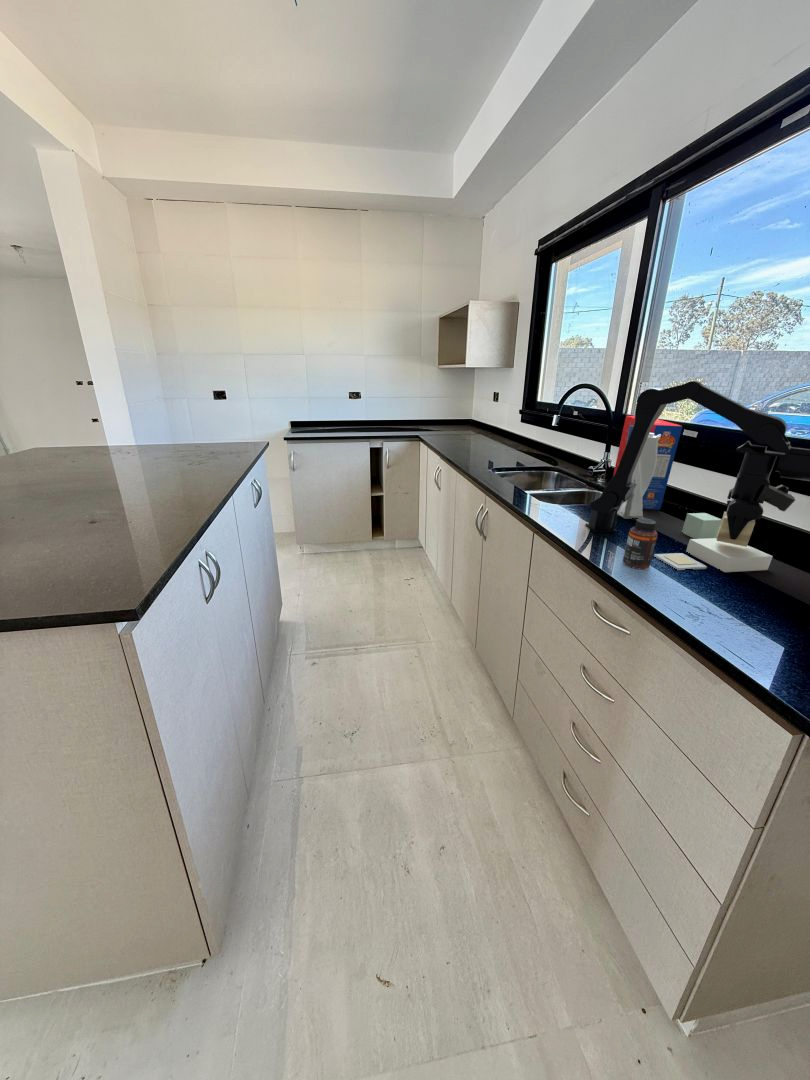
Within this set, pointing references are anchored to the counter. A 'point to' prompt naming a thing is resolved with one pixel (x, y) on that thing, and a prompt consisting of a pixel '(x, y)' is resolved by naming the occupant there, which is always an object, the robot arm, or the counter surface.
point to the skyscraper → (641, 479)
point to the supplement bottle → (640, 544)
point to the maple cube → (743, 536)
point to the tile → (680, 561)
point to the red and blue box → (664, 458)
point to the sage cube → (701, 525)
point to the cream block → (728, 555)
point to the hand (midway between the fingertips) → (732, 535)
